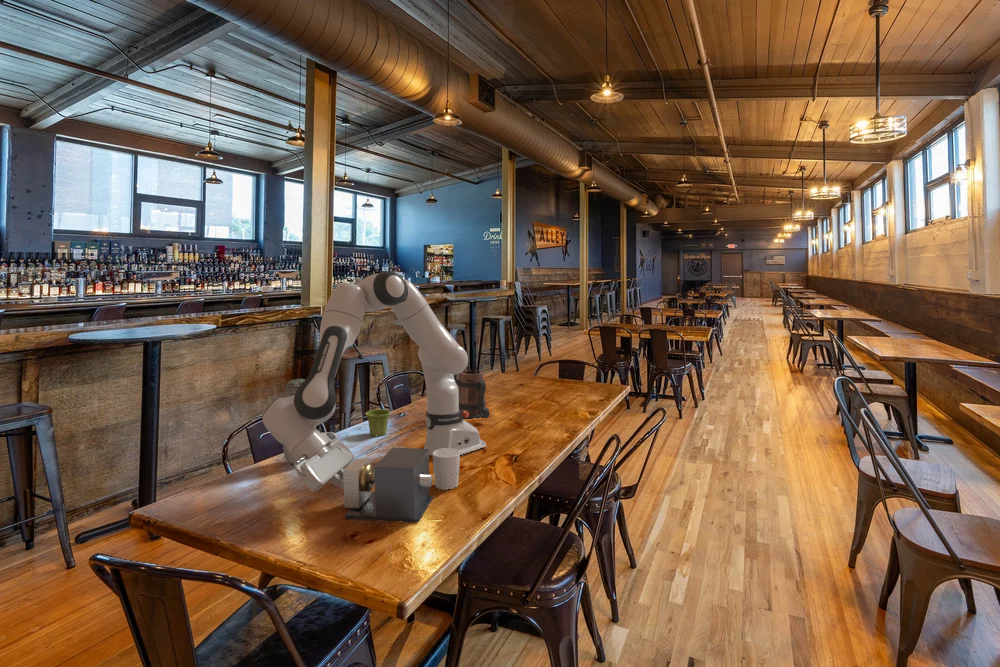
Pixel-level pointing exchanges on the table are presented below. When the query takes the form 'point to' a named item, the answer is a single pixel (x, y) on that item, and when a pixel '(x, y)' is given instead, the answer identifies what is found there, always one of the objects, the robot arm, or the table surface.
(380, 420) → the plant pot
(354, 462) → the shaft
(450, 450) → the white cup
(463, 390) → the tankard
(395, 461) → the bearing block
